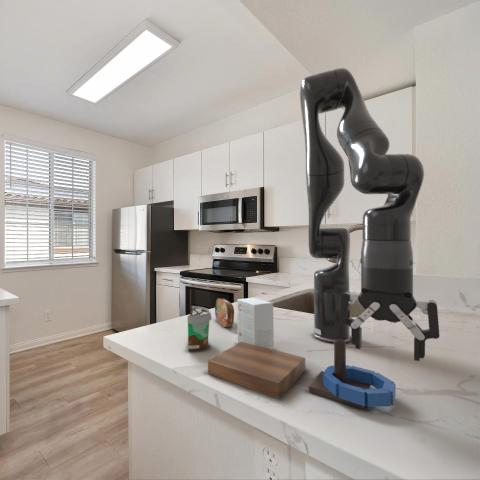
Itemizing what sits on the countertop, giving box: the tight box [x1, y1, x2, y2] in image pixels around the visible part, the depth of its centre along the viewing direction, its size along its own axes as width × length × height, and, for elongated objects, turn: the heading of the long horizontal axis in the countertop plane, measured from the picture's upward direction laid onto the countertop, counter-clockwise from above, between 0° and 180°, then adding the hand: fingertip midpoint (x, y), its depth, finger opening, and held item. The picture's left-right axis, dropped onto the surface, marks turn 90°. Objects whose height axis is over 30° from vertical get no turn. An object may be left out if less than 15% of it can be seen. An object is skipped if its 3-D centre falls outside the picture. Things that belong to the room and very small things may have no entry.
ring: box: [323, 364, 397, 408], centre depth 58 cm, size 11×11×2 cm
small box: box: [236, 297, 275, 350], centre depth 83 cm, size 8×6×13 cm
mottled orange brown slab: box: [214, 297, 235, 328], centre depth 106 cm, size 15×3×8 cm, turn 5°
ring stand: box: [308, 339, 372, 410], centre depth 60 cm, size 9×9×10 cm
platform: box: [207, 342, 306, 400], centre depth 68 cm, size 16×16×3 cm
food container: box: [187, 305, 212, 353], centre depth 85 cm, size 12×6×10 cm, turn 168°
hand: (386, 353), depth 55 cm, fingers open, 8 cm apart
